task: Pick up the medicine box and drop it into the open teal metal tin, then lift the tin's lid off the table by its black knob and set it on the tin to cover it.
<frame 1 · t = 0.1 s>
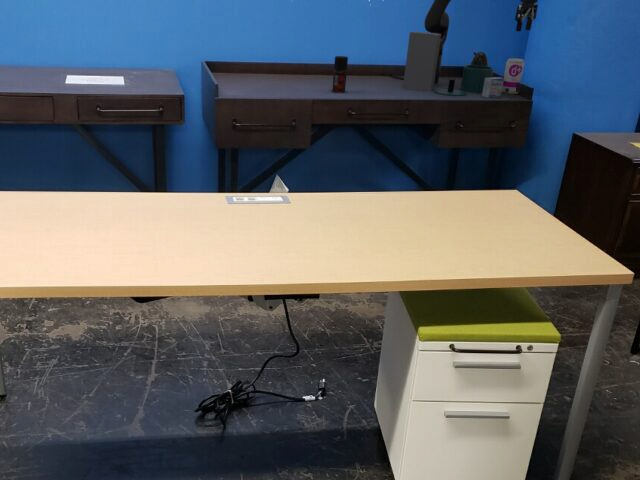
hand: (523, 30, 345), 29 cm above the table, tool pointing down, fingers open, 8 cm apart
medicine box: (490, 97, 363), on the table
tin: (474, 91, 375), on the table
deodorant: (338, 92, 362), on the table
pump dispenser: (475, 84, 393), on the table
tin lid: (450, 93, 366), point 1 cm above the table
supplement can: (509, 93, 375), on the table
cassette tape recorder: (418, 90, 374), on the table
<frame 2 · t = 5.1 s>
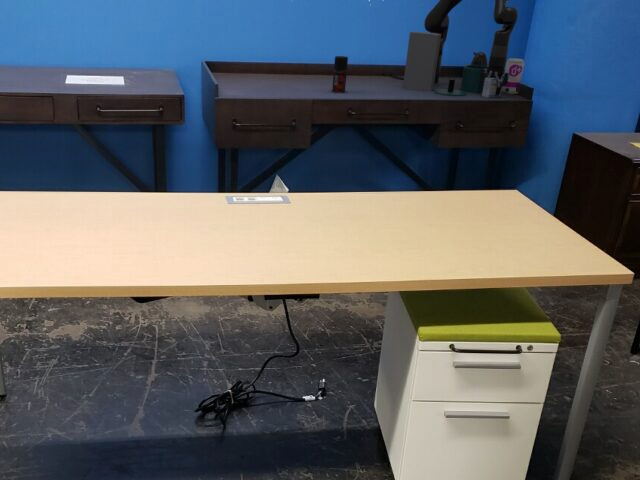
hand: (491, 94, 362), 1 cm above the table, tool pointing down, fingers closed on medicine box, 5 cm apart
medicine box: (490, 97, 363), on the table, touching gripper
everything else where it was.
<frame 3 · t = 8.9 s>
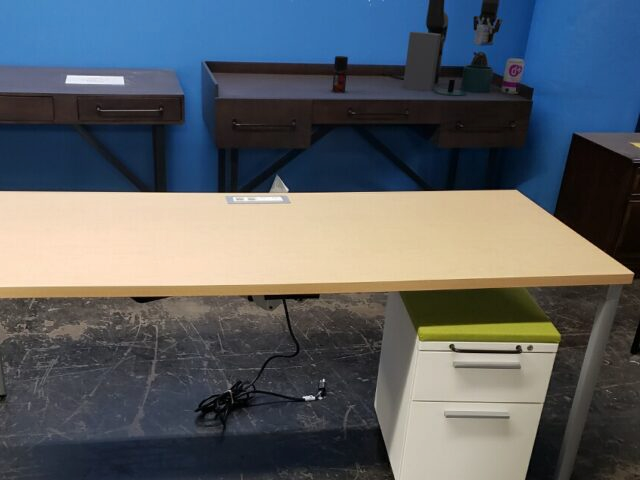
hand: (483, 41, 363), 22 cm above the table, tool pointing down, fingers closed on medicine box, 5 cm apart
medicine box: (483, 45, 364), point 21 cm above the table, touching gripper
everything else where it was.
when the fingers open (7 cm above the table, at t = 13.0 s): medicine box drops 5 cm, resting on tin.
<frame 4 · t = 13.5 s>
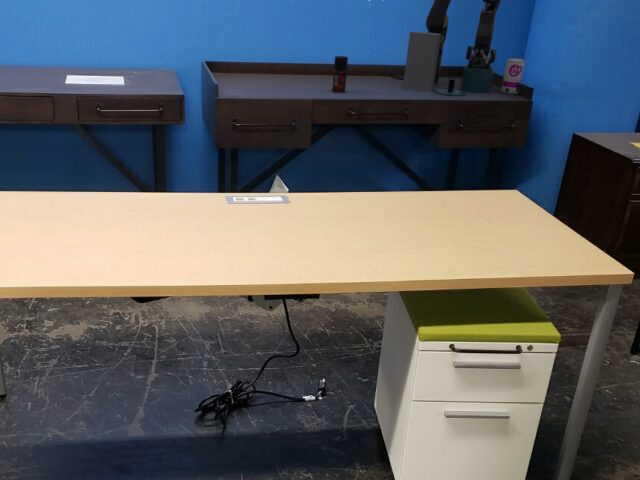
hand: (478, 70, 370), 9 cm above the table, tool pointing down, fingers open, 8 cm apart
medicine box: (476, 91, 374), resting on tin
everything else where it was.
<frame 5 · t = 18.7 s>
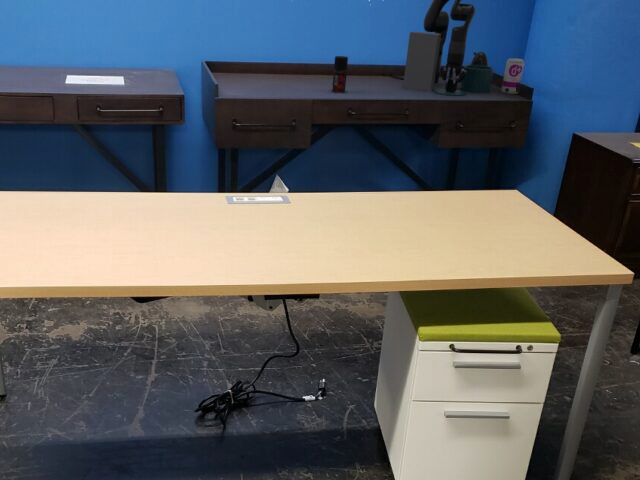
hand: (450, 91, 366), 1 cm above the table, tool pointing down, fingers closed on tin lid, 2 cm apart
tin lid: (450, 93, 366), point 1 cm above the table, touching gripper
everything else where it was.
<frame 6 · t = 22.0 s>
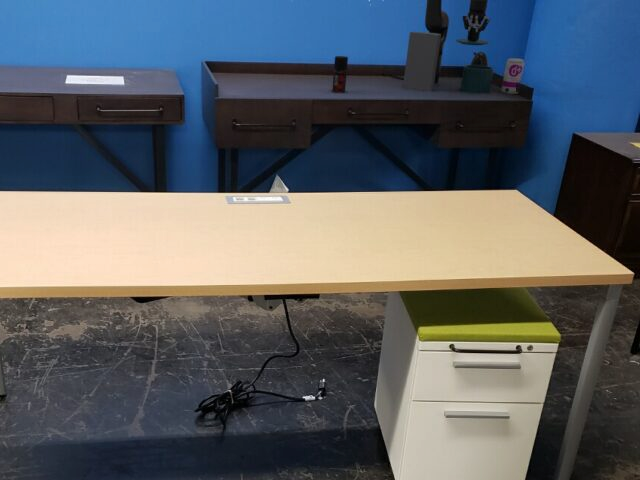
hand: (472, 40, 359), 23 cm above the table, tool pointing down, fingers closed on tin lid, 2 cm apart
tin lid: (472, 42, 360), point 22 cm above the table, touching gripper
everything else where it was.
when the fingers open (12 cm above the table, at t = 25.6 s): tin lid stays where it is, resting on tin.
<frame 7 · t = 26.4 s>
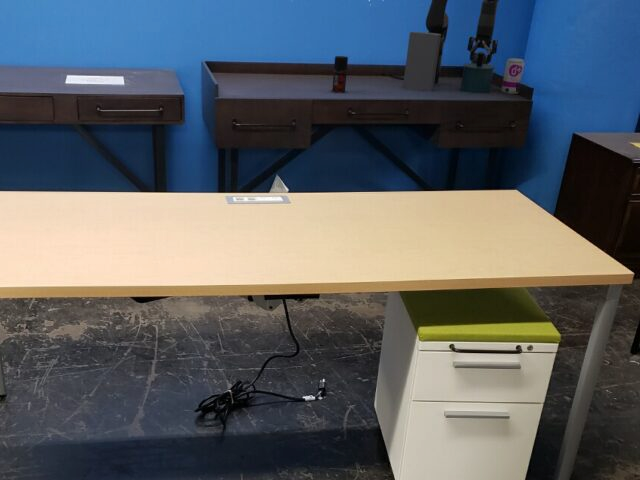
hand: (479, 62, 368), 13 cm above the table, tool pointing down, fingers open, 8 cm apart
tin lid: (479, 67, 369), point 11 cm above the table, touching tin
everything else where it was.
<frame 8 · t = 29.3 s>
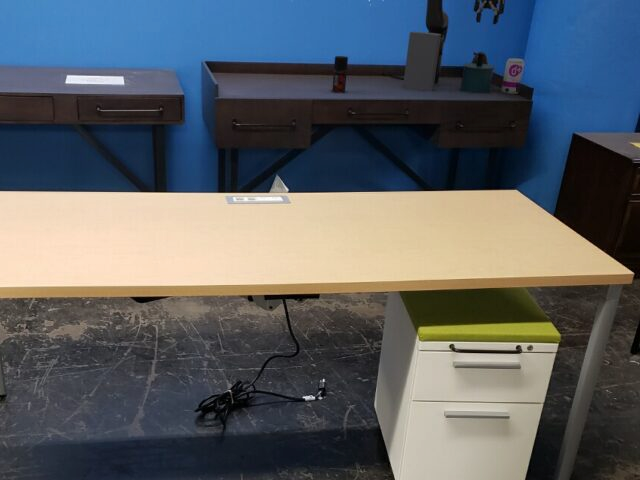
hand: (486, 23, 360), 30 cm above the table, tool pointing down, fingers open, 8 cm apart
nothing on the table moved.
at the end: medicine box inside the target area in the tin (0.7 cm from its centre), point 0.3 cm above the tin's base; tin lid 0.0 cm off-centre on the tin, point 11.0 cm above the tin's base; tin lid tilted 0° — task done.
